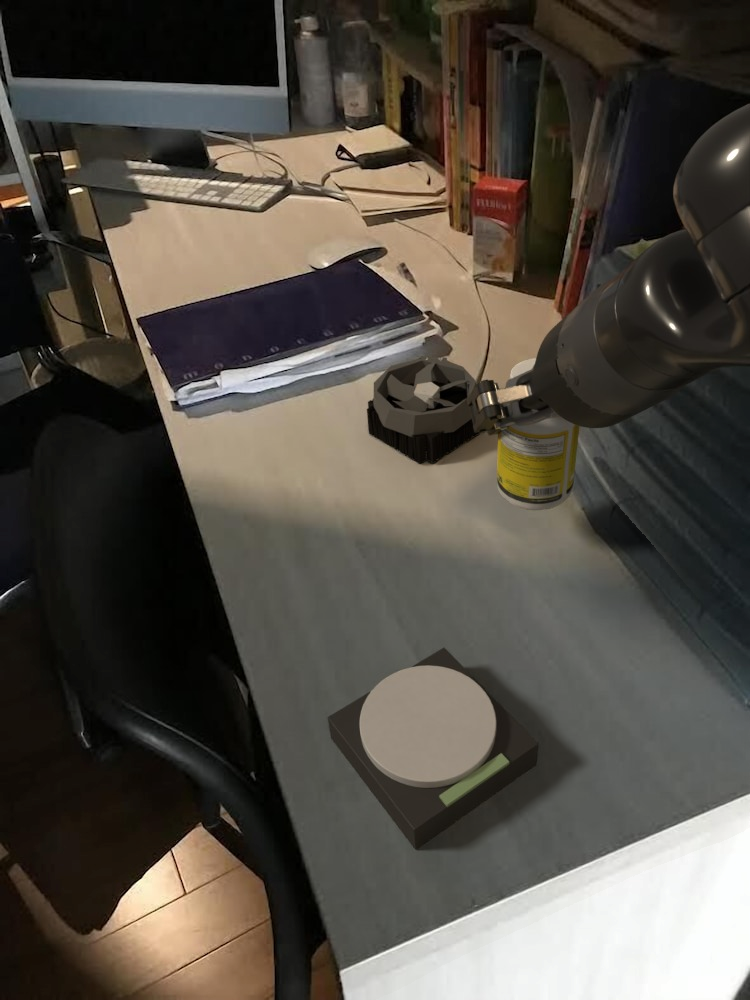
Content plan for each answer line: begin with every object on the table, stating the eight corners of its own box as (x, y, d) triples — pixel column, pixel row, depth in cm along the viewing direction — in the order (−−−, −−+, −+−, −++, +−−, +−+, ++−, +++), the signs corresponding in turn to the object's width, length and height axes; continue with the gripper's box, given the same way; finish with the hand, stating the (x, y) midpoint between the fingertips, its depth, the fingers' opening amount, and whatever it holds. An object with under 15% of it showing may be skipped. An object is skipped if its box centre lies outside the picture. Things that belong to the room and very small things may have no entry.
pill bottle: (531, 457, 72) (539, 343, 65) (588, 489, 68) (603, 372, 61) (480, 488, 69) (482, 373, 62) (536, 524, 65) (546, 405, 58)
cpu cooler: (423, 426, 76) (350, 385, 82) (425, 475, 80) (355, 433, 86) (499, 380, 81) (425, 345, 87) (497, 428, 85) (426, 391, 91)
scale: (536, 764, 56) (539, 736, 53) (415, 850, 52) (413, 823, 50) (444, 668, 62) (443, 639, 60) (330, 738, 58) (325, 710, 56)
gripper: (711, 271, 51) (600, 351, 68) (490, 313, 49) (431, 386, 65) (744, 389, 50) (624, 441, 67) (522, 437, 48) (454, 478, 65)
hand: (529, 413), depth 66 cm, fingers closed on pill bottle, 6 cm apart
